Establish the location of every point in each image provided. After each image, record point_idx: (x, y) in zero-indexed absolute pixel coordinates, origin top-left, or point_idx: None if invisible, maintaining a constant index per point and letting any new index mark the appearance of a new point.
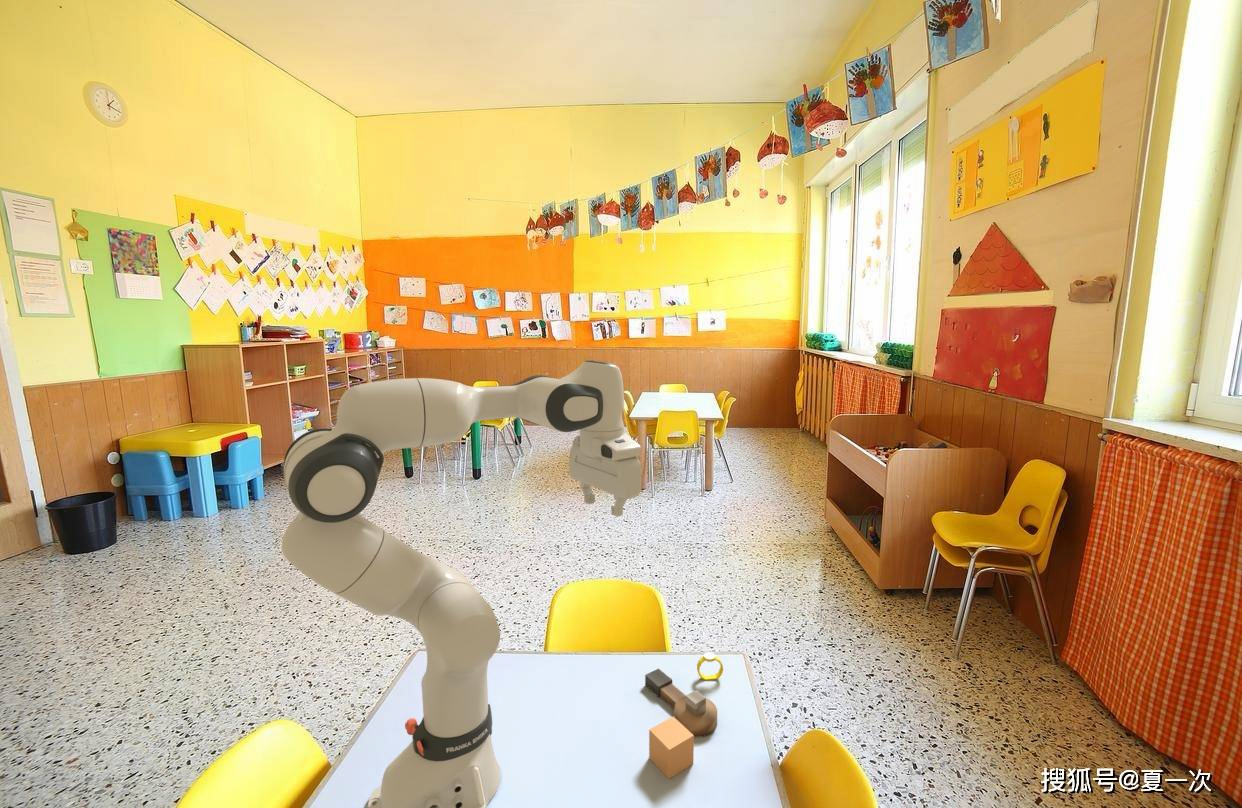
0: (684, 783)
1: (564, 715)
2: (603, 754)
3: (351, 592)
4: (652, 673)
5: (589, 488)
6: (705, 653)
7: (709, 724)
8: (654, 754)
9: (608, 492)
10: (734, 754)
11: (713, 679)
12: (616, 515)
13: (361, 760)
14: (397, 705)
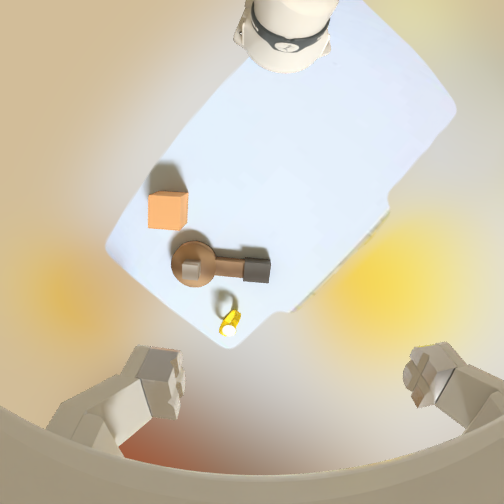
0: None
1: (294, 159)
2: (220, 158)
3: None
4: (266, 272)
5: (462, 413)
6: (235, 330)
7: (171, 262)
8: (178, 193)
9: (114, 457)
10: (145, 257)
11: (226, 317)
12: (136, 349)
13: (362, 9)
14: (411, 56)
